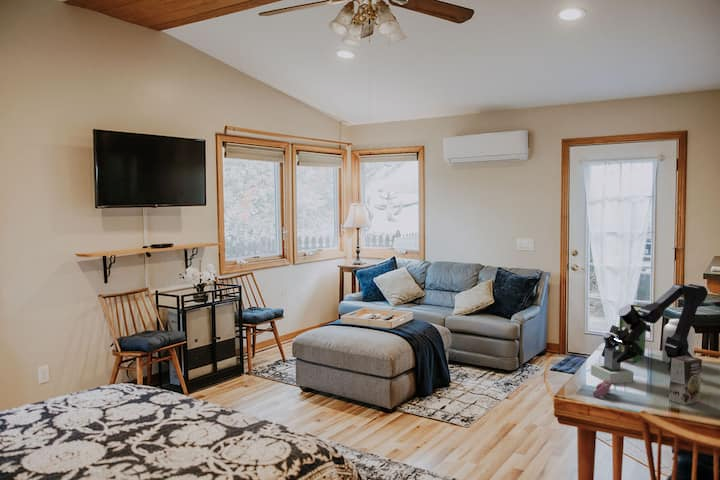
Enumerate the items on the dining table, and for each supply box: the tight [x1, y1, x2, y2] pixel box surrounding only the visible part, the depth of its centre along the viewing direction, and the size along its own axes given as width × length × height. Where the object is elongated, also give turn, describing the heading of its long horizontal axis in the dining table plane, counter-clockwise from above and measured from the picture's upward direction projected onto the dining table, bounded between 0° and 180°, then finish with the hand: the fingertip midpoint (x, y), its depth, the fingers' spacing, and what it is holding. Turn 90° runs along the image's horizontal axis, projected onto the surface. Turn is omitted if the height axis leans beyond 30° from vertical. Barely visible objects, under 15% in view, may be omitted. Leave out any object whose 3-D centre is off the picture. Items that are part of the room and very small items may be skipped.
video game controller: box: [592, 380, 613, 398], centre depth 210 cm, size 10×5×7 cm, turn 149°
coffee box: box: [668, 356, 703, 406], centre depth 204 cm, size 9×6×16 cm
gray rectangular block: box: [603, 348, 623, 372], centre depth 230 cm, size 5×5×12 cm
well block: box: [590, 363, 635, 384], centre depth 230 cm, size 11×12×4 cm
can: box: [661, 318, 696, 365], centre depth 254 cm, size 12×12×20 cm
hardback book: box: [617, 304, 647, 364], centre depth 260 cm, size 18×7×24 cm, turn 140°
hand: (609, 359), depth 229 cm, fingers open, 9 cm apart
